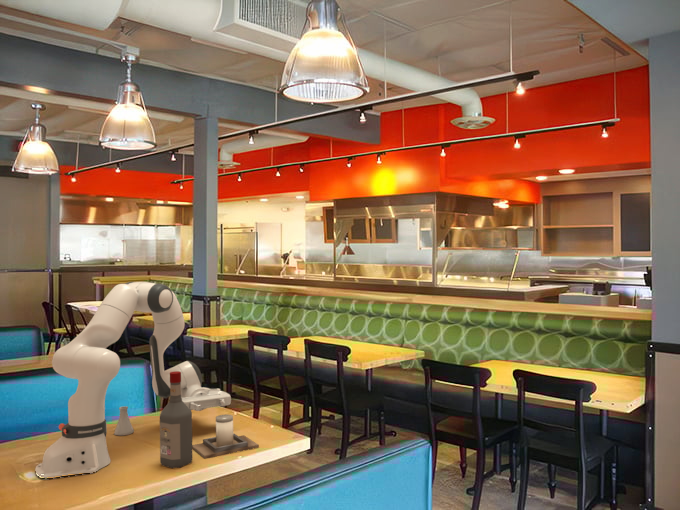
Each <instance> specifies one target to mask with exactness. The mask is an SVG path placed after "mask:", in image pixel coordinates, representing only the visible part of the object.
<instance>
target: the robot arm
mask: <svg viewBox="0 0 680 510" xmlns="http://www.w3.org/2000/svg"><path fill="white" fill-rule="evenodd" d="M104 297H105V298H103V300H102V301H101V303H100V304H99V306H98V308H97V310H96V312H94V314H93V317H92V318H91V319H90V320H89V323H87V325H86V326H85V327H84V329H83V330H82V331H81V332H80V333H79V334H78V335H77V336H75V337H74V338H73V339H72V340H71V341H70V342H68V343H67V344H65V345H63V346H61V347H60V348H58V349H57V350H56V351H55V352H54V353H53V356H52V360H51V366H52V369H53V370H54V372H55V373H56V374H58V375H60V376H63V377H65V378H67V379H73V380H77V381H78V383H77V384H78V385H77V388H76V391H75V393H73V394H72V395H70V397H69V399H68V402H67V407H68V408H67V412H68V417H67V420H68V422H67V423H66V424H65V423H60V424H59V425H58V429H59V430H60V431H61V437H59V438H58V439H57V440H56V441H54V442H53V443H52V444H51V445H49V446H48V447H47V448H46V450H45V451H44V454H43V457H42V462H41V463H38V464H37V465H36V466H35V469H34V472H35V471H36V473H37V474H38V475H39V476H41V477H44V478H47V477H55V476H62V475H68V474H79V473H90V474H94V473H93V472H95V473H96V471H97V472H98V471H99V470H100V469H103V468H105V467H106V466H108V465H109V464H110V463H111V461H112V460H111V457H110V454H109V449H108V446H107V445H108V443H107V433H108V432H107V431H108V430H107V429H108V427H107V426H108V423H107V419H106V418H105V416H106V415H105V414H106V411H105V410H106V405H105V404H106V402H105V401H106V395H107V390H108V387H109V385H110V383H111V381H112V380H113V379H115V378H116V377H117V375H118V374H119V372H120V369H121V359H120V356H119V355H118V354H117V353H116V352H114V351H112V350H110V349H107V348H108V347H109V346H111V345H113V344H115V343H116V342H118V341H119V339H120V338H121V337H122V334H124V331H125V330H126V328H127V326H128V324H129V322H130V321H131V318H132V316H133V315H134V313H135V311H136V312H141V313H151V316H152V320H153V324H154V327H153V328H154V330H153V333H152V335H151V336H150V337H149V354H150V355H149V356H150V365H151V384H152V385H151V386H152V390H153V392H154V394H155V395H156V396H157V397H159V398H163V399H168V398H169V397H170V372H175V371H179V372H181V398H182V401H183V402H184V403H185V404H186V405H187V406H188V407H189V408H190V409H191V411H197V412H201V411H204V410H206V409H209V408H216V407H221V408H222V407H226V406H229V405H231V404H232V403H231V402H232V397H231V394H230V393H228V392H226V391H223V390H221V388H216V387H215V388H214V387H211V388H210V387H204V386H203V387H202V383H203V376H202V373H201V369H200V368H199V367H198V365H197V364H196V363H194V362H192V361H190V360H186V361H183V362H181V363H178V364H176V365H175V366H173V367H170V368H168V369H166V370H165V366H164V365H165V364H164V353H165V351H166V349H167V348H168V347H169V346H170V345H171V344H172V343H173V342H175V341H176V340H177V339H178V338H179V337H180V336H181V335H182V333H183V331H184V329H185V326H186V324H185V318H184V314H183V311H182V307H181V305H180V302H179V300H178V299H177V298H178V297H177V296H176V294H175V292H174V291H173V290H172V289H171V288H170V287H169V286H167V285H166V284H163V283H154V282H149V281H128V282H126V283H119V284H116V285H115V286H114V287H112V289H111V290H110V291H109V292H108V293H107V294H106V296H104ZM41 474H44V475H41Z"/></svg>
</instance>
